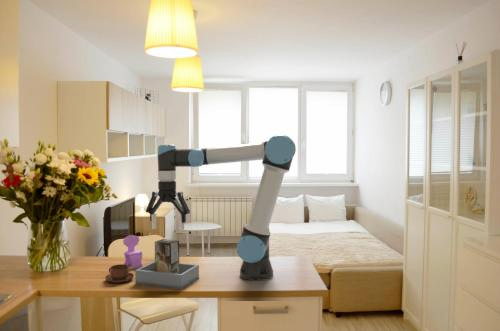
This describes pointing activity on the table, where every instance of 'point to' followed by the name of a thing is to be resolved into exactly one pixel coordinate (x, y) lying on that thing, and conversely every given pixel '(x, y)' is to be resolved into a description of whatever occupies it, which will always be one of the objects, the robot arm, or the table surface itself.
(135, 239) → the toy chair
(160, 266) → the coffee box
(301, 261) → the table surface
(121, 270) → the cup and saucer
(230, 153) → the robot arm
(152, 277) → the walled bin
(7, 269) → the table surface
